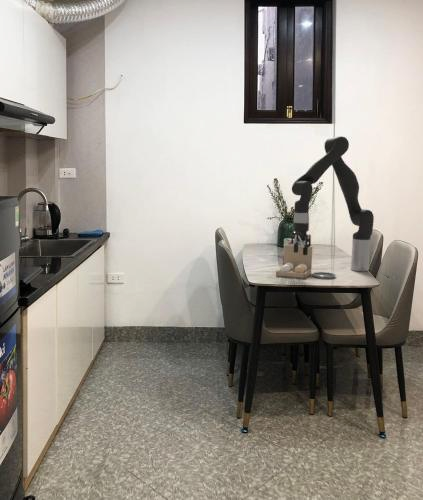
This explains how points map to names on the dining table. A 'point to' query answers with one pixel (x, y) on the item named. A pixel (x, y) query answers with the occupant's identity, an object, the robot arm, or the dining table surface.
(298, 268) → the brown egg
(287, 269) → the white egg
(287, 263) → the white egg
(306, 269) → the white egg
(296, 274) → the egg carton
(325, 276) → the slate saucer
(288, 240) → the candy bar box
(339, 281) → the dining table surface
